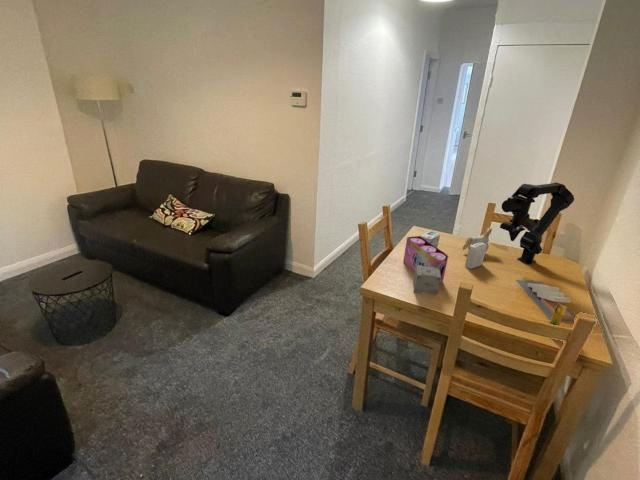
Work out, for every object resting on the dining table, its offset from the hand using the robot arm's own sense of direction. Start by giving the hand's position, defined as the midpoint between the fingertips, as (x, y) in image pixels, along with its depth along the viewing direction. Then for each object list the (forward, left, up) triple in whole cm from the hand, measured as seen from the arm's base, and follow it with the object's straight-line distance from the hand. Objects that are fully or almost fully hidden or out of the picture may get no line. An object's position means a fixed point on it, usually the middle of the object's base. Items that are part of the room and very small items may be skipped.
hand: (512, 240), depth 167 cm
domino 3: (+14, +27, -12) cm, 32 cm away
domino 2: (+12, +23, -12) cm, 29 cm away
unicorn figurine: (+1, -18, -13) cm, 23 cm away
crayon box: (+34, +41, -13) cm, 55 cm away
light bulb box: (+28, -27, -13) cm, 41 cm away
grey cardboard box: (+56, -1, -13) cm, 58 cm away
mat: (+15, +28, -13) cm, 34 cm away
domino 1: (+9, +20, -12) cm, 25 cm away
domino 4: (+16, +30, -12) cm, 36 cm away
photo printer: (+17, -6, -13) cm, 22 cm away
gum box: (+45, -14, -13) cm, 49 cm away
